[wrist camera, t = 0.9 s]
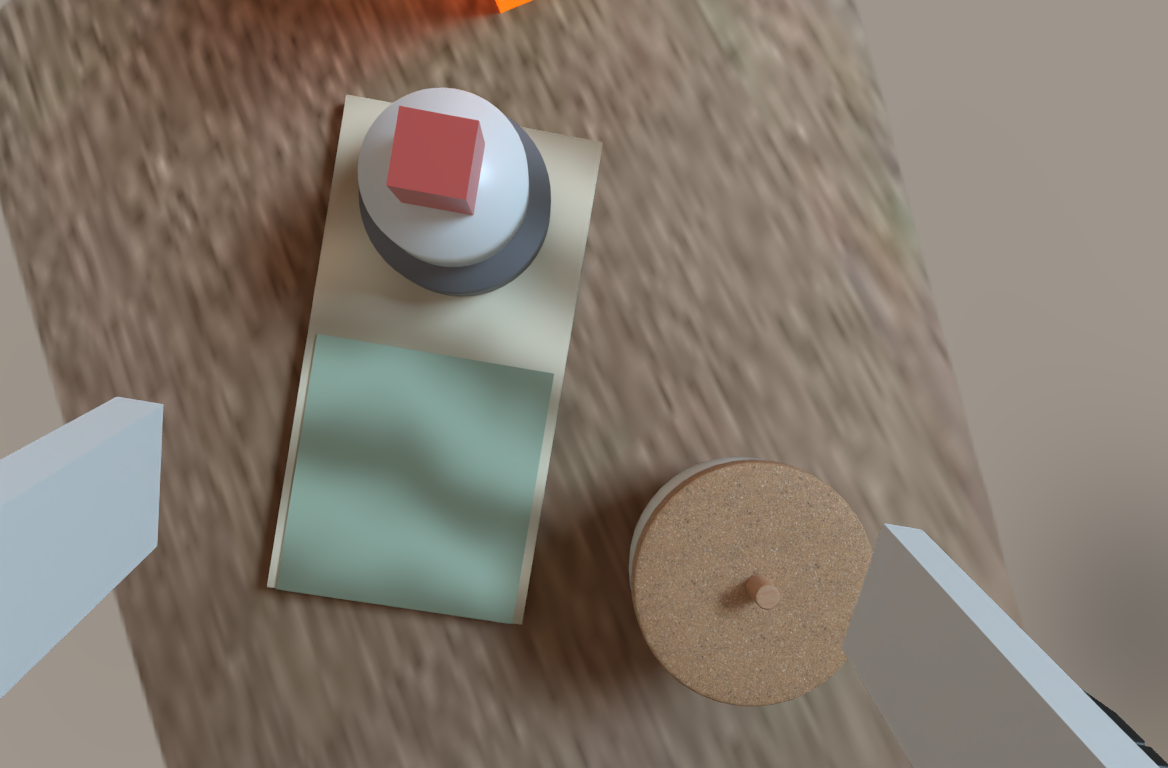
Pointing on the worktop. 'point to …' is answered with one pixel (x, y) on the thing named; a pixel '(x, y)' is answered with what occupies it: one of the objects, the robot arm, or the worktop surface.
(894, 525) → the robot arm
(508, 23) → the worktop surface
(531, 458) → the game board
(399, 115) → the dome
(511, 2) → the orange juice
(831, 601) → the lidded jar
